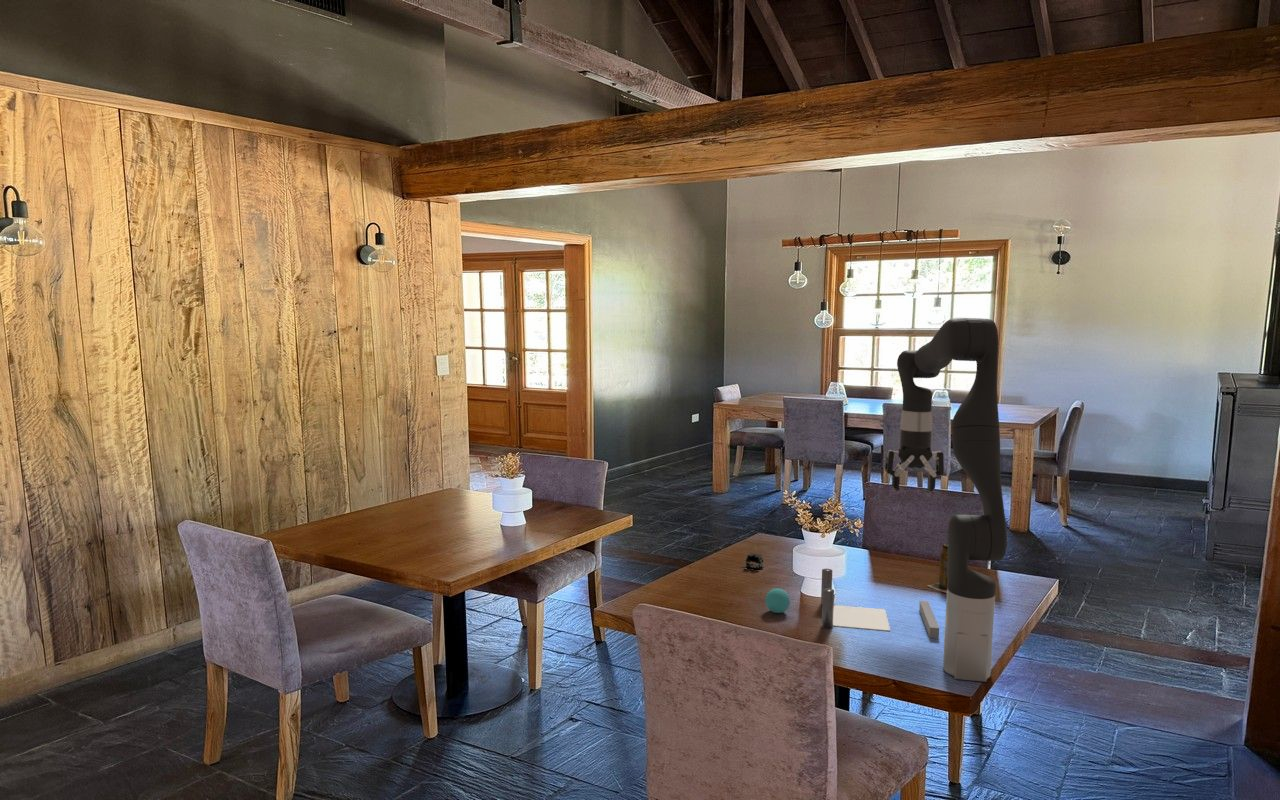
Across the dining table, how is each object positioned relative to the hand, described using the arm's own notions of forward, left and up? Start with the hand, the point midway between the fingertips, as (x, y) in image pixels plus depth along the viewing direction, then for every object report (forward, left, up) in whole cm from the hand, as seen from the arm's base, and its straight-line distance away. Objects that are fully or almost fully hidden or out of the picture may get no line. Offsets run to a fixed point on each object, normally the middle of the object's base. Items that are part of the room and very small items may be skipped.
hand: (913, 490), depth 207 cm
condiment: (+13, -12, -29) cm, 34 cm away
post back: (-8, +21, -29) cm, 37 cm away
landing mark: (-16, +14, -29) cm, 36 cm away
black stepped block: (+18, +41, -30) cm, 54 cm away
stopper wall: (-16, -3, -29) cm, 33 cm away
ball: (-17, +33, -26) cm, 45 cm away
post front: (-24, +21, -29) cm, 43 cm away
